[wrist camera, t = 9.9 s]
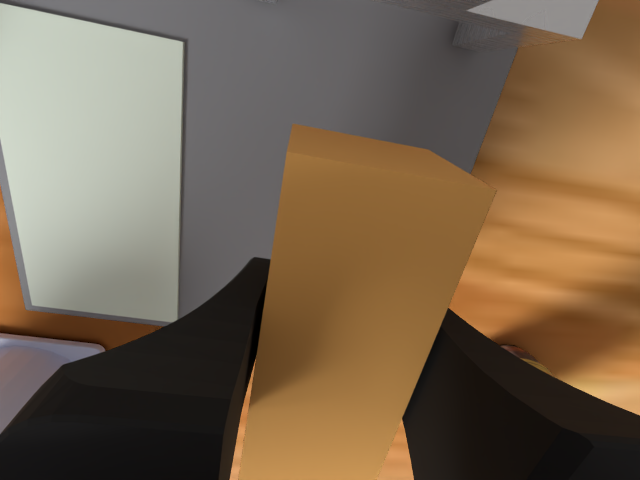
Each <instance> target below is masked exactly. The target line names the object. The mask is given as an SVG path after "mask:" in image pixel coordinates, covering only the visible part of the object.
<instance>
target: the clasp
mask: <svg viewBox="0 0 640 480" xmlns="http://www.w3.org/2000/svg"><path fill="white" fill-rule="evenodd" d="M259 1H263V2H267V3H272V4H276V3H277V0H259ZM373 1H377V2H381V3H385V4H389V5H393V6H398V7H402V8H406V9H410V10H414V11H418V12H422V13H427V14H431V15H435V16H439V17H443V18H447V19H452V20H456V21H459V22H458V26H457V29H456V32H455V35H454V39H453V42H452V45H453V46H457V47H461V48H466V49H470V50H474V51H479V52H486V51H493V50H501V49H509V48H517V47H524V46H532V45H540V44H548V43H556V42H563V41H571V40H579V39H582V37H583V35H584V33H585V30H586V28H587V26H588V23H589V21H590V19H591V17H592V14H593V12H594V10H595V8H596V5H597V3H598V1H599V0H373Z"/></svg>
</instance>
